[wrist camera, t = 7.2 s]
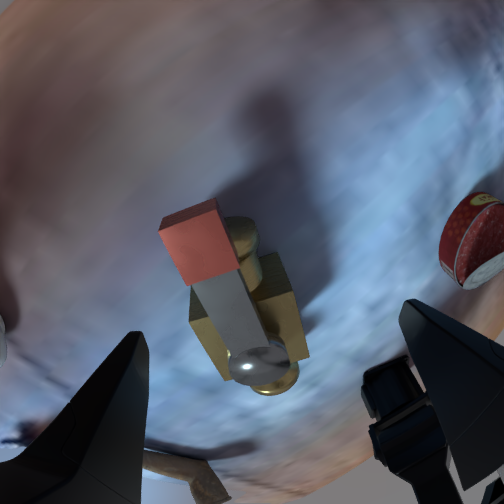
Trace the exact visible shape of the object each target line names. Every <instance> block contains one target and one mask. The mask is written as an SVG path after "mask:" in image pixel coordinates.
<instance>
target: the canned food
mask: <svg viewBox="0 0 504 504" xmlns="http://www.w3.org/2000/svg"><path fill="white" fill-rule="evenodd" d="M439 261H440V264H441V267H442V268H443V270H444V271H445V272H446V273H447V274H448V275H449V276H450V277H451V278H452V279H453V280H454V281H455V282H456V283H457V284H458V285H459V286H460V287H461V288H463V289H466V290H469V289H475V288H478V287H479V286H481V285H483V284H484V283H486V282H487V281H488V280H490V279H491V278H492V277H493V276H494V275H496V274H497V273H499V272H500V271H501V270H502V269H503V268H504V203H503V202H501V201H500V200H498V199H496V198H495V197H493V196H491V195H489V194H487V193H485V192H476V193H473V194H471V195H469V196H467V197H466V198H465V199H464V200H462V201H461V202H460V203H459V204H458V206H457V207H456V208H455V209H454V211H453V212H452V214H451V215H450V217H449V219H448V221H447V223H446V225H445V227H444V230H443V232H442V235H441V239H440V244H439Z"/></svg>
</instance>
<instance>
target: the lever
mask: <svg viewBox="0 0 504 504" xmlns="http://www.w3.org/2000/svg"><path fill="white" fill-rule="evenodd" d="M158 232H159V234H160V236H161V238H162V240H163V242H164V244H165V246H166V248H167V250H168V252H169V254H170V256H171V258H172V259H173V261H174V263H175V265H176V267H177V269H178V271H179V273H180V274H181V276H182V278H183V280H184V282H185V284H186V285H187V286H189V285H192V287H193V289H194V291H195V293H196V294H197V296H198V298H199V300H200V302H201V304H202V305H203V307H204V309H205V311H206V312H207V314H208V316H209V318H210V319H211V321H212V323H213V325H214V326H215V328H216V330H217V332H218V333H219V335H220V337H221V339H222V340H223V342H224V344H225V345H226V347H227V349H228V351H227V356H228V367H229V374H230V376H231V377H232V379H233V380H235V381H236V382H238V383H240V384H243V385H248V386H261V385H266V384H270V383H272V382H275V381H277V380H278V379H280V378H281V377H283V376H284V375H285V374H286V373H287V371H288V370H289V367H290V360H289V356H288V353H287V349H286V346H285V343H284V341H283V339H282V338H281V337H280V336H278V335H276V334H274V333H271V332H267V331H266V329H265V326H264V324H263V322H262V319H261V317H260V315H259V312H258V310H257V307H256V305H255V303H254V300H253V298H252V296H251V293H250V291H249V289H248V286H247V284H246V282H245V279H244V277H243V274H242V272H241V270H240V264H239V258H238V252H237V250H236V247H235V245H234V242H233V240H232V237H231V235H230V232H229V230H228V227H227V225H226V222H225V220H224V217H223V215H222V212H221V210H220V208H219V205H218V203H217V200H216V198H213V199H210V200H207V201H205V202H202V203H199V204H197V205H194V206H192V207H189V208H186V209H184V210H181V211H179V212H176V213H174V214H171V215H169V216H166V217H164V218H163V219H162V222H161V225H160V227H159V230H158Z"/></svg>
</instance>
